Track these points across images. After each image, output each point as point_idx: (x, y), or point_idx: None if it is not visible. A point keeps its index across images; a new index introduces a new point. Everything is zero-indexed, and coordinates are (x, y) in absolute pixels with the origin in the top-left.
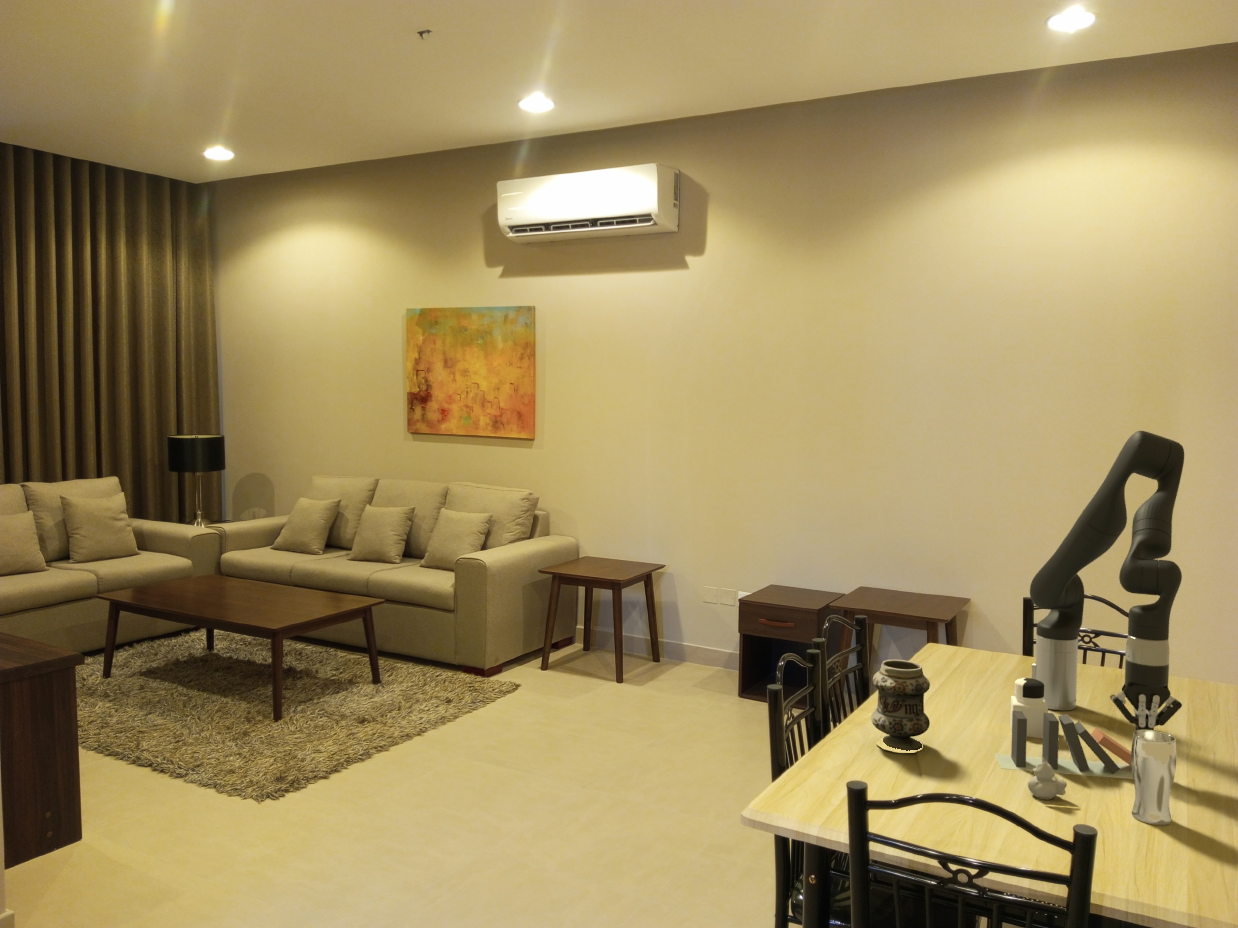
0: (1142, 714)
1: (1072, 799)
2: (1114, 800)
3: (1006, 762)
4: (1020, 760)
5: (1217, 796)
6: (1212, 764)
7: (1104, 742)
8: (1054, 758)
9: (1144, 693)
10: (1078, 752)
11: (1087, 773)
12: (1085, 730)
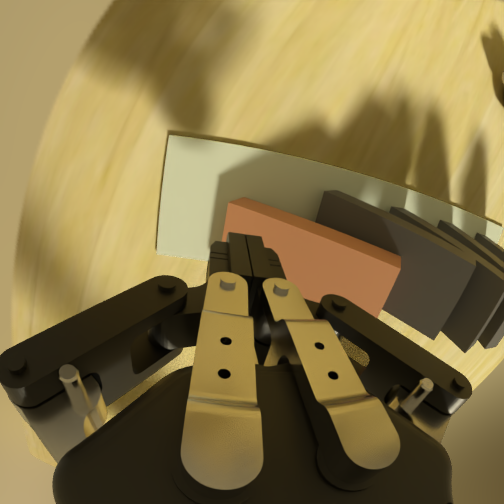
0: (308, 322)
1: (479, 73)
2: (412, 40)
3: None
4: (490, 240)
5: (102, 54)
6: (37, 278)
7: (386, 255)
8: (460, 232)
9: (326, 488)
10: (438, 230)
11: (395, 196)
12: (474, 263)
